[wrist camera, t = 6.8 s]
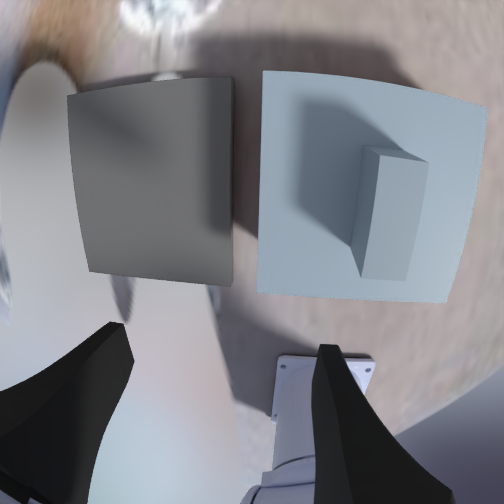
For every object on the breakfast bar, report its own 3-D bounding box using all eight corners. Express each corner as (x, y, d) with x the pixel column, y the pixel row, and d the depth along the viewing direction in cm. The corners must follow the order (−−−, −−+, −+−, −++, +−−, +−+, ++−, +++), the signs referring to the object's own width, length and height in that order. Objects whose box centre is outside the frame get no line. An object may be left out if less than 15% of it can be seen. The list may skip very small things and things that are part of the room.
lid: (441, 295, 17) (464, 335, 13) (257, 285, 18) (249, 328, 14) (479, 107, 12) (522, 113, 8) (264, 72, 13) (255, 61, 10)
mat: (232, 280, 22) (230, 286, 21) (94, 266, 23) (89, 271, 22) (233, 77, 16) (231, 76, 16) (74, 95, 17) (67, 95, 17)
